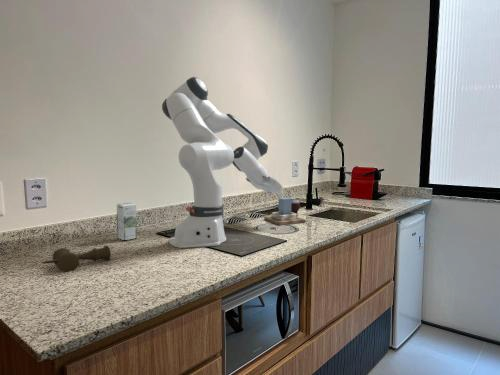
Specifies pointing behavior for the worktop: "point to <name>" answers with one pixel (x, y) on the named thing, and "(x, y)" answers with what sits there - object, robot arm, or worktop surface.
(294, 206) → the mate gourd
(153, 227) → the worktop surface
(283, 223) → the walnut base board
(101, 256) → the kendama
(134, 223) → the syrup box
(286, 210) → the slate block
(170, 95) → the robot arm
